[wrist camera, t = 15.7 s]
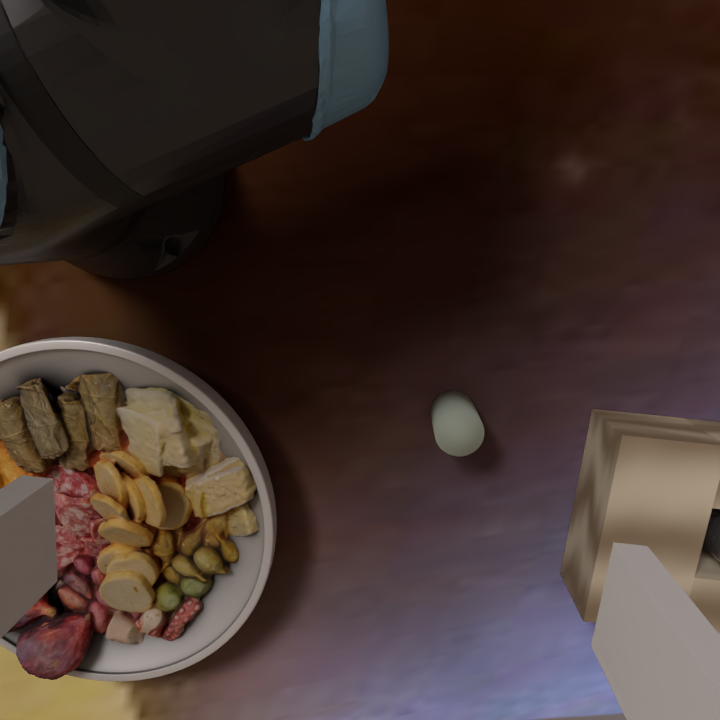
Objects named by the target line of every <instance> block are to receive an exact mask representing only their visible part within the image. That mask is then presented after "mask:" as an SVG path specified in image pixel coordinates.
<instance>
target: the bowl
mask: <svg viewBox="0 0 720 720" xmlns="http://www.w3.org/2000/svg"><path fill="white" fill-rule="evenodd" d="M22 475H25V476H34V477H43V478H52V479H54V504H55V529H56V554H57V579H58V581H57V582H56V583H55V584H54V585H53V586H52V587H51V588H50V589H49V590H48V591H47V592H46V593H45V594H44V595H43V596H42V597H41V598H40V599H39V600H38V601H37V602H36V603H35V604H34V605H33V606H32V607H31V608H30V609H29V610H28V611H27V613H26V614H25V615H24V616H23V617H22V618H21V619H20V620H19V621H18V622H17V623H16V624H15V625H14V626H13V627H12V628H11V629H10V630H9V631H8V632H7V633H6V634H5V635H4V636H3V637H2V638H1V639H0V645H1V646H3V647H5V648H6V649H8V650H9V651H11V652H13V653H15V654H16V655H17V658H18V660H19V661H20V664H21V665H22V667H23V669H24V670H26V671H27V673H29V674H32V675H35V676H36V677H39V678H43V679H50V680H54V679H58V678H60V677H62V676H64V675H65V674H66V675H70V676H74V677H79V678H84V679H91V680H100V681H135V680H143V679H150V678H155V677H159V676H163V675H167V674H170V673H173V672H176V671H179V670H182V669H184V668H186V667H189V666H191V665H193V664H195V663H197V662H199V661H201V660H202V659H204V658H206V657H207V656H209V655H210V654H212V653H213V652H215V651H216V650H217V649H219V648H220V647H221V646H222V645H224V644H225V643H226V642H227V641H228V640H229V639H230V638H231V637H232V636H233V635H234V634H235V633H236V632H237V631H238V630H239V629H240V628H241V626H242V625H243V624H244V623H245V621H246V620H247V619H248V617H249V616H250V614H251V613H252V611H253V609H254V608H255V606H256V604H257V602H258V600H259V598H260V596H261V594H262V592H263V589H264V586H265V584H266V581H267V578H268V576H269V572H270V569H271V565H272V561H273V557H274V551H275V544H276V533H277V516H276V504H275V497H274V492H273V487H272V483H271V479H270V476H269V472H268V469H267V467H266V464H265V461H264V459H263V456H262V454H261V452H260V450H259V448H258V446H257V444H256V442H255V440H254V438H253V437H252V435H251V433H250V432H249V430H248V428H247V427H246V426H245V424H244V423H243V421H242V420H241V418H240V417H239V416H238V415H237V413H236V412H235V411H234V410H233V408H232V407H231V406H230V405H229V404H228V403H227V402H226V401H225V400H224V399H223V398H222V397H221V396H220V395H219V394H218V393H217V392H216V391H215V390H214V389H213V388H212V387H211V386H209V385H208V384H207V383H206V382H204V381H203V380H202V379H201V378H199V377H198V376H197V375H195V374H194V373H192V372H191V371H189V370H188V369H186V368H184V367H183V366H181V365H179V364H178V363H176V362H174V361H172V360H170V359H168V358H166V357H164V356H162V355H160V354H157V353H155V352H152V351H150V350H147V349H144V348H142V347H138V346H135V345H132V344H128V343H124V342H120V341H115V340H109V339H102V338H93V337H61V338H50V339H44V340H38V341H34V342H30V343H26V344H22V345H18V346H15V347H12V348H9V349H6V350H3V351H1V352H0V489H1V488H3V487H5V486H6V485H8V484H9V483H11V482H12V481H14V480H16V479H17V478H19V477H20V476H22Z"/></svg>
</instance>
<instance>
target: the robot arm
mask: <svg viewBox="0 0 720 720" xmlns="http://www.w3.org/2000/svg"><path fill="white" fill-rule="evenodd" d="M388 56H389V36H388V19H387V8H386V0H0V265H12V264H24V263H37V262H49V261H62V260H64V261H66V262H68V263H70V264H72V265H74V266H76V267H78V268H80V269H83V270H85V271H87V272H90V273H93V274H96V275H99V276H104V277H109V278H116V279H135V278H143V277H149V276H155V275H159V274H162V273H165V272H168V271H170V270H173V269H175V268H177V267H178V266H180V265H182V264H183V263H185V262H186V261H188V260H189V259H190V258H191V257H193V256H194V255H195V254H196V253H197V252H198V251H199V250H200V249H201V248H202V246H203V245H204V244H205V242H206V241H207V240H208V238H209V237H210V235H211V233H212V231H213V229H214V227H215V225H216V223H217V220H218V218H219V214H220V211H221V207H222V202H223V195H224V172H227V171H229V170H231V169H233V168H236V167H238V166H240V165H242V164H245V163H247V162H249V161H251V160H253V159H256V158H258V157H260V156H262V155H265V154H267V153H269V152H271V151H274V150H276V149H278V148H280V147H283V146H285V145H287V144H289V143H291V142H294V141H296V140H298V139H300V138H302V139H303V140H304V141H309V140H312V139H314V138H315V137H316V136H317V135H318V134H319V133H320V132H321V130H322V129H324V128H326V127H328V126H330V125H332V124H334V123H336V122H338V121H340V120H342V119H344V118H346V117H348V116H350V115H352V114H354V113H356V112H358V111H360V110H362V109H363V108H365V107H366V106H367V105H369V104H370V103H371V102H372V101H373V100H374V99H375V97H376V95H377V94H378V92H379V90H380V88H381V86H382V84H383V82H384V79H385V76H386V73H387V67H388ZM57 581H58V579H57V554H56V529H55V504H54V479H52V478H43V477H34V476H25V475H22V476H20V477H19V478H17V479H16V480H14V481H12V482H11V483H9V484H8V485H6V486H5V487H3V488H1V489H0V639H1V638H2V637H3V636H4V635H5V634H6V633H7V632H8V631H9V630H10V629H11V628H12V627H13V626H14V625H15V624H16V623H17V622H18V621H19V620H20V619H21V618H22V617H23V616H24V615H25V614H26V613H27V611H28V610H29V609H30V608H31V607H32V606H33V605H34V604H35V603H36V602H37V601H38V600H39V599H40V598H41V597H42V596H43V595H44V594H45V593H46V592H47V591H48V590H49V589H50V588H51V587H52V586H53V585H54V584H55V583H56V582H57ZM591 646H592V649H593V651H594V653H595V655H596V657H597V659H598V661H599V663H600V665H601V667H602V670H603V672H604V674H605V676H606V678H607V680H608V682H609V684H610V686H611V688H612V690H613V693H614V695H615V697H616V699H617V701H618V703H619V705H620V707H621V709H622V711H623V714H624V716H625V718H626V720H720V635H719V633H718V632H717V631H716V630H715V628H714V627H713V626H712V625H711V624H710V622H709V621H708V620H707V619H706V617H705V616H704V615H703V614H702V612H701V611H700V610H699V609H698V608H697V606H696V605H695V604H694V603H693V601H692V600H691V599H690V598H689V596H688V595H687V594H686V593H685V592H684V590H683V589H682V588H681V587H680V585H679V584H678V583H677V582H676V580H675V579H674V578H673V577H672V576H671V574H670V573H669V572H668V571H667V569H666V568H665V567H664V566H663V564H662V563H661V562H660V561H659V560H658V558H657V557H656V556H655V555H654V553H653V552H652V551H651V550H650V548H649V547H648V546H642V545H633V544H624V543H615V542H613V547H612V551H611V556H610V560H609V565H608V570H607V574H606V579H605V584H604V588H603V593H602V597H601V602H600V607H599V611H598V616H597V620H596V625H595V630H594V634H593V639H592V644H591Z"/></svg>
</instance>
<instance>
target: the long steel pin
mask: <svg viewBox="0 0 720 720" xmlns="http://www.w3.org/2000/svg"><path fill="white" fill-rule="evenodd" d="M703 546H704V547H705V548H706V549H707V550H708V551H709V552H710V553H711V554H712V555H713V556H714V557H715V558H716V559H717V560H718V561H719V562H720V509H714V508H712V511H711V515H710V519H709V523H708V527H707V530H706V534H705V538H704V542H703Z"/></svg>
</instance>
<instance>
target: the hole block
mask: <svg viewBox="0 0 720 720" xmlns="http://www.w3.org/2000/svg"><path fill="white" fill-rule="evenodd" d="M712 508H714V509H720V422H716V421H706V420H696V419H687V418H677V417H667V416H658V415H648V414H638V413H629V412H619V411H609V410H600V409H592V413H591V418H590V423H589V428H588V433H587V438H586V443H585V449H584V454H583V459H582V464H581V469H580V474H579V479H578V485H577V490H576V495H575V500H574V505H573V510H572V515H571V521H570V526H569V531H568V536H567V541H566V546H565V551H564V557H563V562H562V567H561V572H560V574H561V576H562V578H563V581H564V583H565V585H566V587H567V589H568V591H569V593H570V595H571V597H572V599H573V601H574V603H575V605H576V607H577V609H578V611H579V613H580V615H581V617H582V620H583V621H586V622H594V623H596V620H597V616H598V611H599V607H600V602H601V597H602V593H603V588H604V584H605V579H606V574H607V570H608V565H609V560H610V556H611V551H612V547H613V542H615V543H624V544H633V545H642V546H648V547H649V548H650V550H651V551H652V552H653V553H654V555H655V556H656V557H657V558H658V560H659V561H660V562H661V563H662V564H663V566H664V567H665V568H666V569H667V571H668V572H669V573H670V574H671V576H672V577H673V578H674V579H675V580H676V582H677V583H678V584H679V585H680V587H681V588H682V589H683V590H684V592H685V593H686V594H687V595H688V596H689V598H690V599H691V600H692V601H693V603H694V604H695V605H696V606H697V608H698V609H699V610H700V611H701V612H702V614H703V615H704V616H705V617H706V619H707V620H708V621H709V622H710V624H711V625H712V626H713V627H714V628H715V630H716V631H717V632H718V633H719V635H720V562H719V561H718V560H717V559H716V558H715V557H714V556H713V555H712V554H711V553H710V552H709V551H708V550H707V549H706V548H705V547H704V546H703V542H704V538H705V534H706V530H707V527H708V523H709V519H710V515H711V511H712Z"/></svg>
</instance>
